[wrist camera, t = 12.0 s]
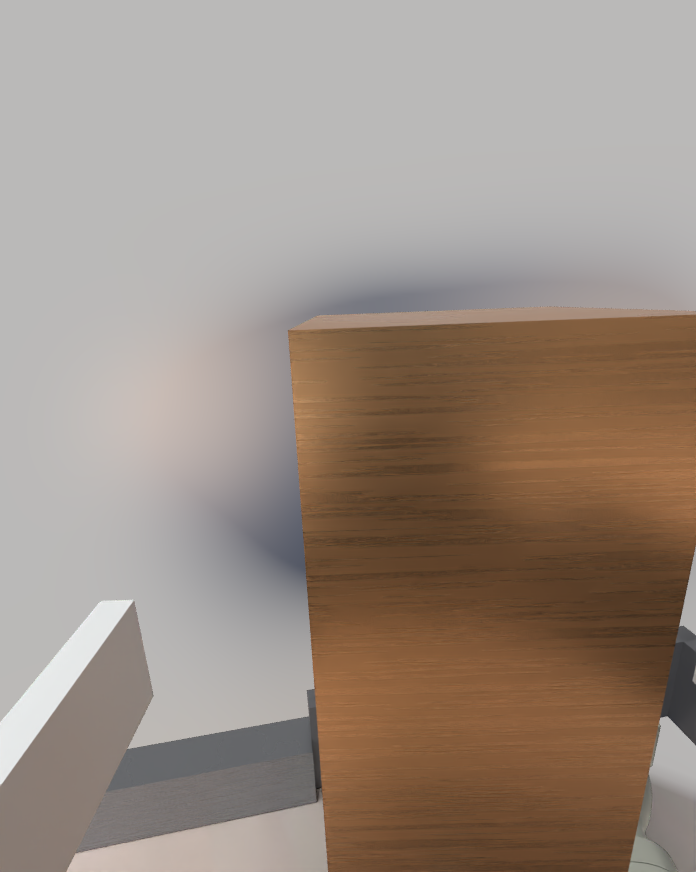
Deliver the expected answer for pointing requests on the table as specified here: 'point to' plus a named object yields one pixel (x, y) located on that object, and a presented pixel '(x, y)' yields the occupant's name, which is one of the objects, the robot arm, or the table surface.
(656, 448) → the brown wooden block
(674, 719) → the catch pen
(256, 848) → the table surface
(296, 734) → the slot rails
